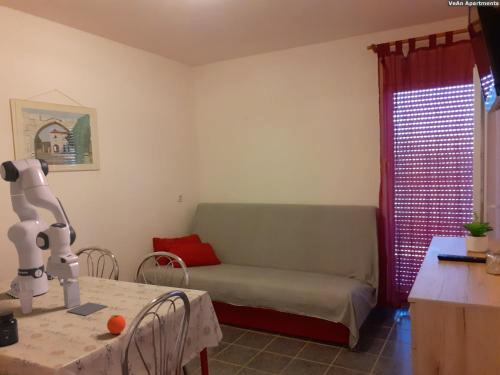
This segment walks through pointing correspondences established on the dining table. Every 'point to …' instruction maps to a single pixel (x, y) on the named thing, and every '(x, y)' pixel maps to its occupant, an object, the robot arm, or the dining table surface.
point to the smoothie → (26, 300)
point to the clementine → (116, 324)
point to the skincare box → (71, 293)
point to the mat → (87, 309)
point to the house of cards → (48, 275)
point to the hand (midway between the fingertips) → (63, 285)
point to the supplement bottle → (8, 329)
